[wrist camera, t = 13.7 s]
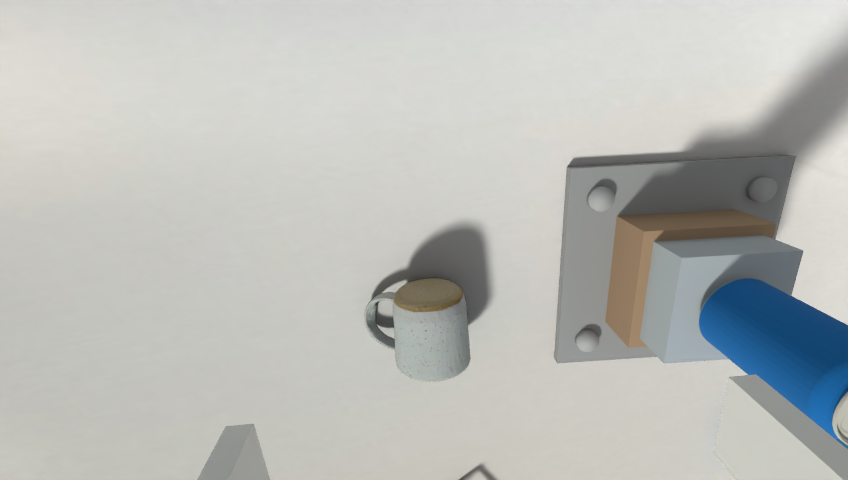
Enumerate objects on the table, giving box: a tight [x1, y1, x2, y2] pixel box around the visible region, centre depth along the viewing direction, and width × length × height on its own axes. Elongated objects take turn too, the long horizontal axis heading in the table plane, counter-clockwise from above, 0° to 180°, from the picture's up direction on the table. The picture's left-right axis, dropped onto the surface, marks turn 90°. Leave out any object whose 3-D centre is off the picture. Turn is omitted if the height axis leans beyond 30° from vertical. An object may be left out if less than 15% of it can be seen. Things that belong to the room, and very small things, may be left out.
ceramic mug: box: [365, 278, 470, 382], centre depth 42 cm, size 11×8×8 cm
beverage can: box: [699, 278, 848, 445], centre depth 29 cm, size 6×6×12 cm
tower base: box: [554, 155, 803, 363], centre depth 40 cm, size 22×22×10 cm
